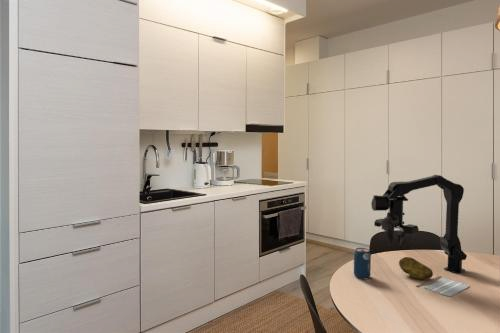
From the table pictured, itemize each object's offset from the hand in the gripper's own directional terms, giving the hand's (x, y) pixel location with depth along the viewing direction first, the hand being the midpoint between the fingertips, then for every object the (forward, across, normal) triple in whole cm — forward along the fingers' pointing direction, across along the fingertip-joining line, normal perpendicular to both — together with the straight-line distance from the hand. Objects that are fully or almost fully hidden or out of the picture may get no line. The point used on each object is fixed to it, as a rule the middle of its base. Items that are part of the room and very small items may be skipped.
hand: (395, 244), depth 165 cm
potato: (+12, +10, 0) cm, 16 cm away
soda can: (+12, -4, -18) cm, 22 cm away
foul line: (+12, +16, 0) cm, 20 cm away
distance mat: (+12, +24, 0) cm, 26 cm away
